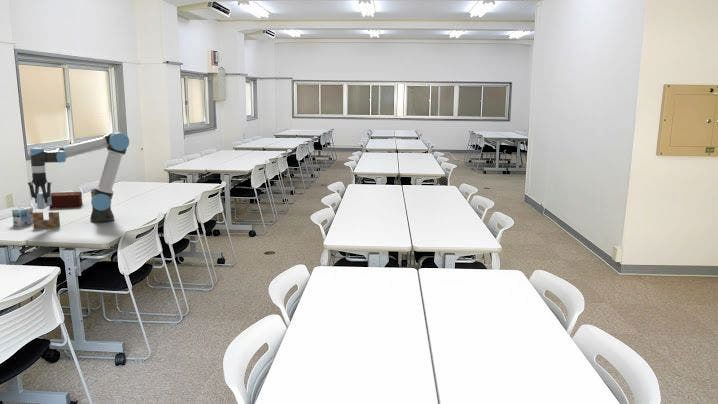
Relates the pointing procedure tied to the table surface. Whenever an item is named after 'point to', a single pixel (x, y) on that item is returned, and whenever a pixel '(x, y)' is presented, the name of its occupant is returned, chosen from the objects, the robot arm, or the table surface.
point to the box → (66, 199)
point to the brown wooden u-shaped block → (46, 220)
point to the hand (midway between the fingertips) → (42, 207)
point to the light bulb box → (22, 216)
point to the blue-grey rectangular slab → (40, 200)
